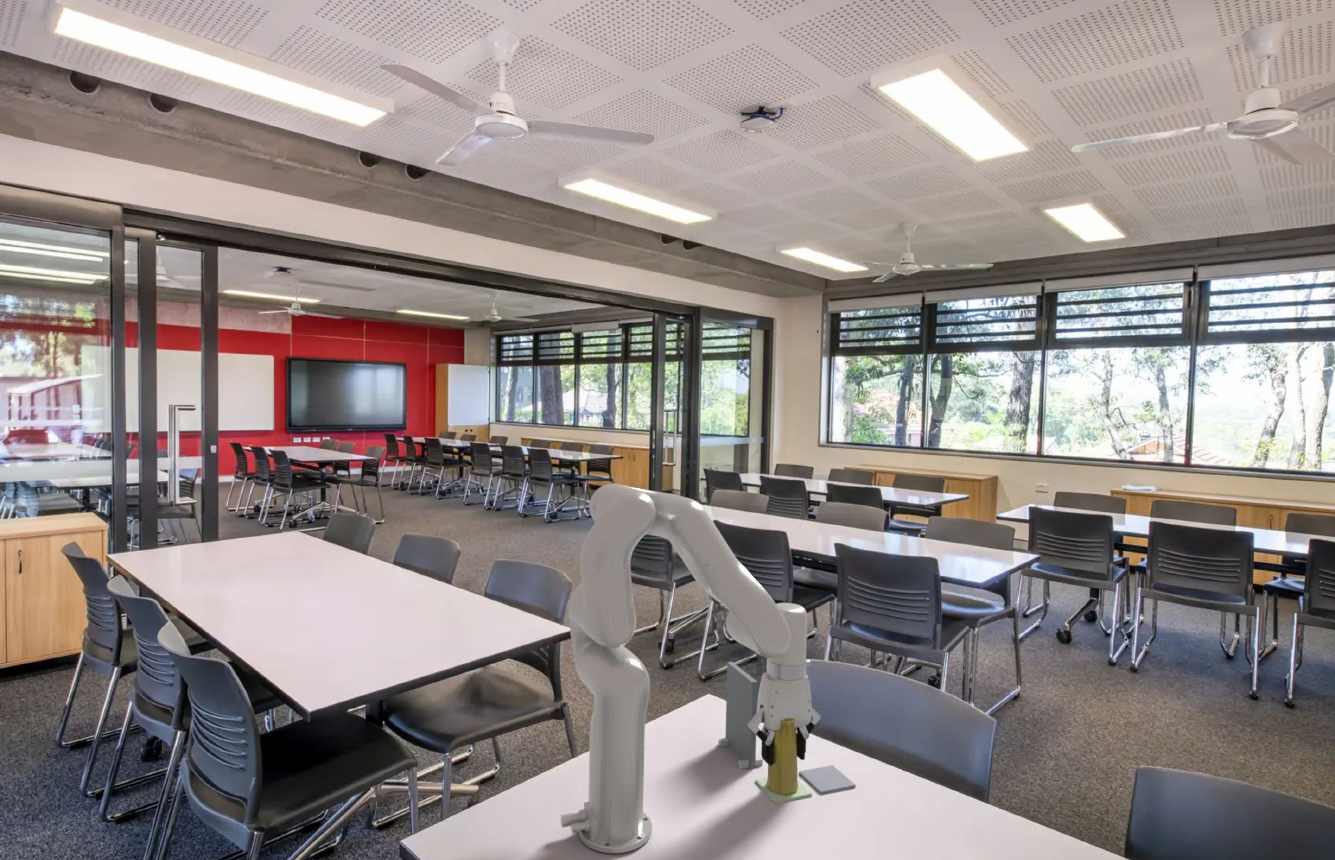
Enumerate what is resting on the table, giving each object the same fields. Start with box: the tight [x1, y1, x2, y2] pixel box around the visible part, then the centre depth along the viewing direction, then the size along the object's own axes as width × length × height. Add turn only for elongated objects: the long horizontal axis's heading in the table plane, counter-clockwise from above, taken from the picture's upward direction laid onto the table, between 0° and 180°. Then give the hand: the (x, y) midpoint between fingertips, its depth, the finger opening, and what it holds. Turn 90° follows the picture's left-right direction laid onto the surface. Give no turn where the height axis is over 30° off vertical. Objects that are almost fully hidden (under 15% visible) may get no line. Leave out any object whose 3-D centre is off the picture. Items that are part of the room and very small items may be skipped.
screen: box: [717, 661, 764, 770], centre depth 148 cm, size 5×12×18 cm, turn 20°
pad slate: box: [798, 764, 857, 795], centre depth 139 cm, size 8×8×1 cm
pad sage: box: [754, 776, 813, 804], centre depth 135 cm, size 8×8×1 cm
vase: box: [767, 719, 799, 795], centre depth 135 cm, size 6×6×14 cm
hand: (783, 758), depth 135 cm, fingers open, 6 cm apart
